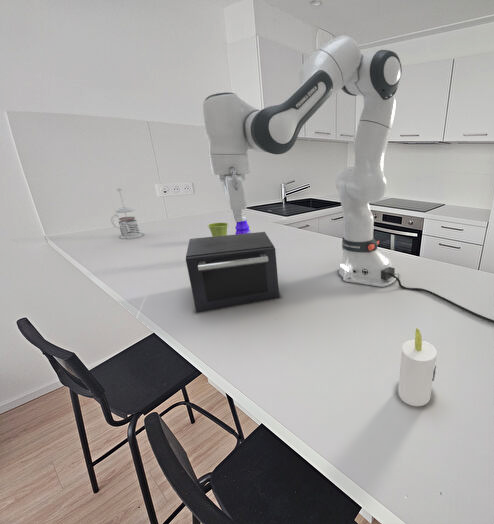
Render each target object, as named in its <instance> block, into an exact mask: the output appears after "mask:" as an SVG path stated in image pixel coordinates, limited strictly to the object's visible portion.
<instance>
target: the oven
mask: <svg viewBox="0 0 494 524" xmlns="http://www.w3.org/2000/svg"><path fill="white" fill-rule="evenodd" d="M187 244H188V245H187V250H186V253H185V258H186V257H190V256H199V255H207V254H216V253H225V252H234V251H242V250H251V249H260V248H269V247H275V245H274V244H273V242H272V240H271V239H270V237H269V236H268V234H267V233H266V231H257V232H251V233H246V234H236V235H235V234H227V235H225V236H215V237H212V236H205V237H193V238H189V240H188V243H187Z"/></svg>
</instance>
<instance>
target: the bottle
mask: <svg viewBox="0 0 494 524" xmlns="http://www.w3.org/2000/svg"><path fill="white" fill-rule="evenodd" d="M235 222H236V221H235ZM246 233H252V232H251V230H250V225H249V224H248V221H247V217H246V216H244V215H243V216H242V221H241V222H236V224H235V233H234V235H236V234H246Z"/></svg>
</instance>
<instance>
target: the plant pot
mask: <svg viewBox="0 0 494 524" xmlns="http://www.w3.org/2000/svg"><path fill="white" fill-rule="evenodd" d="M228 226H229V223H227V222H213V223H208V225H207V227H208V228H209V230H210V234H211V237H215V236H225V235H228Z"/></svg>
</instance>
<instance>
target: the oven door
mask: <svg viewBox="0 0 494 524" xmlns="http://www.w3.org/2000/svg"><path fill="white" fill-rule="evenodd" d="M276 251H277V250H276V247H275V246H274V247H269V248H260V249H251V250H242V251H234V252H225V253H216V254H207V255H199V256H190V257H186V256H185V262H186V268H187V272H188V278H189V282H190V288H191V293H192V298H193V303H194V306H195V307H194V308H195V313H201V312H202V313H203V312H208V311H213V310H218V309H223V308H231V307H234V306H241V305H247V304H253V303H256V302H263V301H268V300H273V299H279V298H280V288H279V277H278V265H277V254H276V253H277V252H276Z"/></svg>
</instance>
